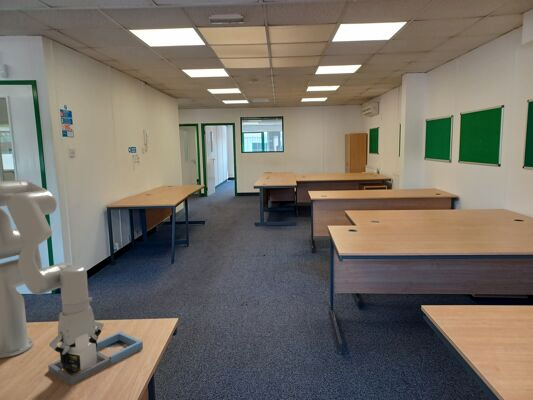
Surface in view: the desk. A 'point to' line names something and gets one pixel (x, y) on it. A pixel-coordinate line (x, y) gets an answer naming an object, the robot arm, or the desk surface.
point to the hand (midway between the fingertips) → (79, 357)
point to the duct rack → (99, 358)
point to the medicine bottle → (81, 355)
